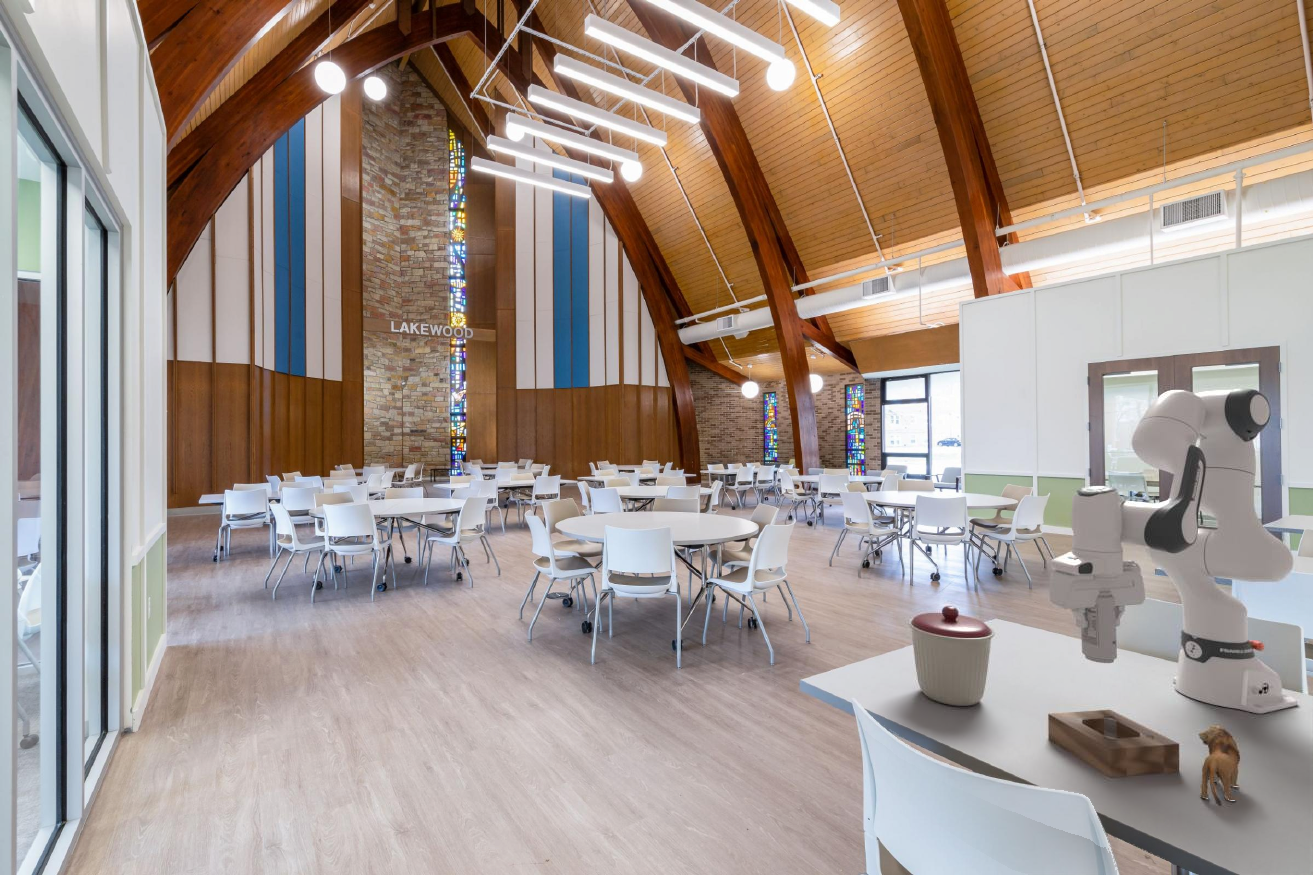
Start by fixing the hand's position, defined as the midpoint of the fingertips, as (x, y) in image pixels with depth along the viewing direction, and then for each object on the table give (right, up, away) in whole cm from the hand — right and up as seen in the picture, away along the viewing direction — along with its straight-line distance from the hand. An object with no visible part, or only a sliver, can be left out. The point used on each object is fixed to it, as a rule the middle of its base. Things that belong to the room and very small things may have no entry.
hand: (1098, 626), depth 128 cm
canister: (-26, -20, +11) cm, 35 cm away
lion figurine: (+1, -20, -26) cm, 33 cm away
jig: (-8, -20, -15) cm, 26 cm away
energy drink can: (0, -7, 0) cm, 7 cm away
